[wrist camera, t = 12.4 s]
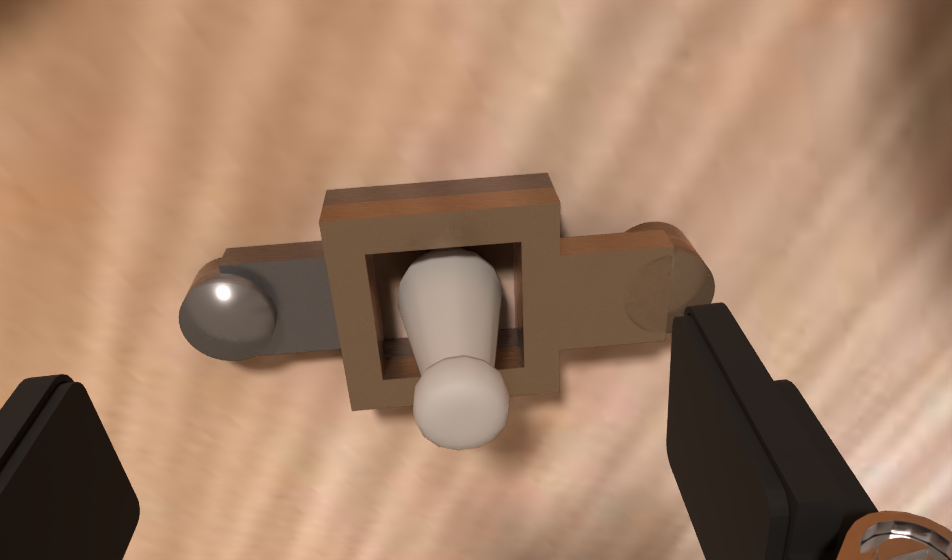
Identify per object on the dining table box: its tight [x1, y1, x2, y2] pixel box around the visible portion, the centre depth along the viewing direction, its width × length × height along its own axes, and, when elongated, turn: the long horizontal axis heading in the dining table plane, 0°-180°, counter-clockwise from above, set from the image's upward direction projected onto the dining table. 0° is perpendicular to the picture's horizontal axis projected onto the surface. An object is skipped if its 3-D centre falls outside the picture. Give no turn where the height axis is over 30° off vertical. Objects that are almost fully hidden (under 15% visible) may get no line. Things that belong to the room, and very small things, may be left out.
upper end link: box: [319, 187, 715, 411], centre depth 42 cm, size 20×12×4 cm, turn 93°
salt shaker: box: [398, 247, 509, 450], centre depth 38 cm, size 6×6×13 cm
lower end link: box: [179, 173, 553, 361], centre depth 42 cm, size 20×12×3 cm, turn 93°
